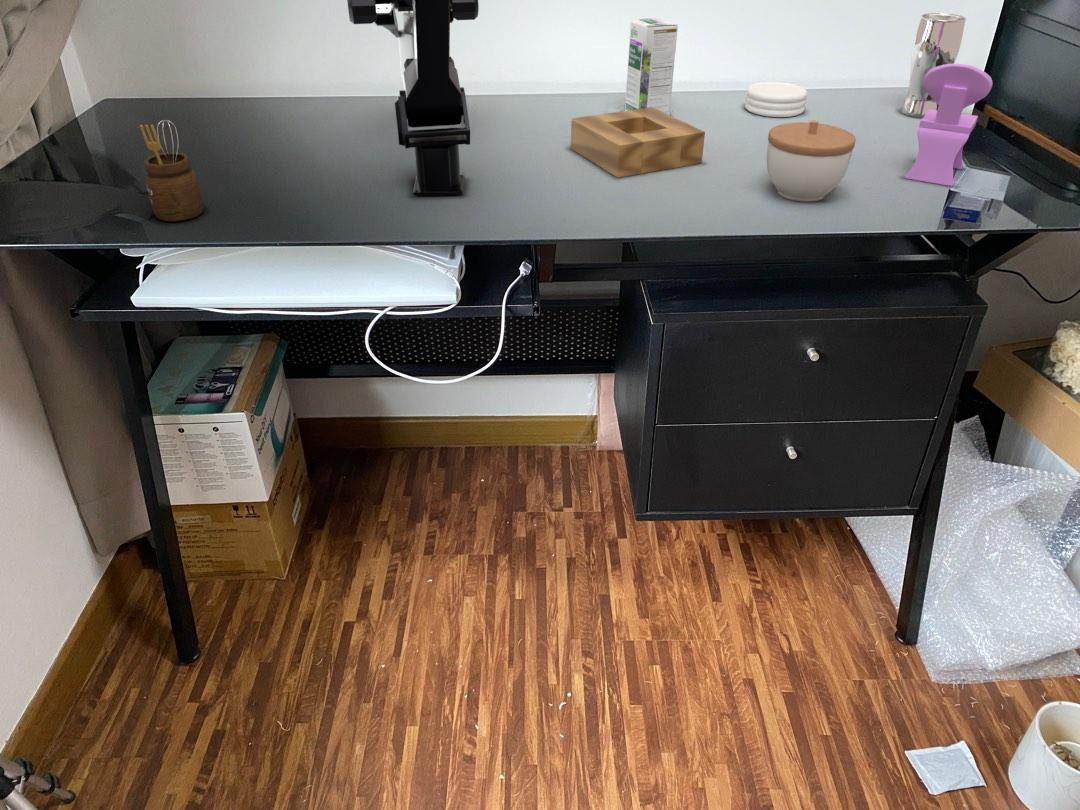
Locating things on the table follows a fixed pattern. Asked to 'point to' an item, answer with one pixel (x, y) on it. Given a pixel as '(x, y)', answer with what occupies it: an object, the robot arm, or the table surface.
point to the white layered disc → (775, 99)
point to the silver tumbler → (931, 57)
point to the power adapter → (406, 40)
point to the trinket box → (808, 159)
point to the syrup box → (650, 64)
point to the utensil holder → (171, 182)
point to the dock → (636, 141)
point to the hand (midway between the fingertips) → (412, 34)
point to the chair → (947, 121)
